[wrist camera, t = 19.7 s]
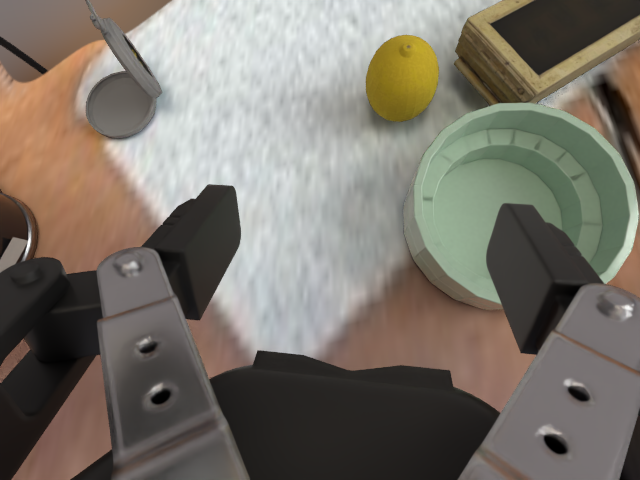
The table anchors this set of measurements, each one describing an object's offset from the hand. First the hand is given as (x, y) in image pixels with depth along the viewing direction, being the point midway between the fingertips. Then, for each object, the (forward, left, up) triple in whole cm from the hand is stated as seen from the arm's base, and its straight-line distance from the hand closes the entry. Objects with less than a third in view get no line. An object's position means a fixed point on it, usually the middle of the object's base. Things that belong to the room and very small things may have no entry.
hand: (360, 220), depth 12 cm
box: (-7, +28, -20) cm, 35 cm away
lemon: (-10, +12, -20) cm, 25 cm away
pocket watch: (-26, -7, -20) cm, 33 cm away
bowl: (+2, +12, -20) cm, 23 cm away
